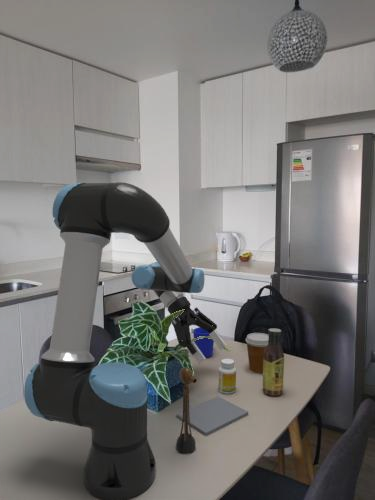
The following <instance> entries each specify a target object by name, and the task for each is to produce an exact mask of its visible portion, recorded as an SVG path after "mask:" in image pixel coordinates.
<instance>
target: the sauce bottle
mask: <svg viewBox="0 0 375 500" xmlns="http://www.w3.org/2000/svg"><path fill="white" fill-rule="evenodd" d="M267 331H268V332H267V334H268V335H269V339H268V345H267V346H266V348H265V350H264V361H263V373H262V392H263V393H264V394H265V395H268V396H271V397H278V396H280V395H282V394H283V389H284V375H285V371H284V370H285V355H284V354H285V353H284V351H283V347H282V330H281V329H280V328H276V327H275V328H273V327H272V328H268V329H267Z"/></svg>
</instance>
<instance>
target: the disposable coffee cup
mask: <svg viewBox="0 0 375 500" xmlns="http://www.w3.org/2000/svg"><path fill="white" fill-rule="evenodd" d="M268 339H269V334H268V333H264V332H263V333H262V332H252V333H249V334H247V335H246V338H245V342H246V347H247V349H246V350H247V357H248V365H249V370H250V372H253V373H256V374H263V361H264V350H265V348H266V346H267V345H268Z"/></svg>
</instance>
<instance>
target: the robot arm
mask: <svg viewBox="0 0 375 500" xmlns="http://www.w3.org/2000/svg"><path fill="white" fill-rule="evenodd" d="M51 213H52V218H54V220H53V223H54V224H55V226H56V228H58V229H59V230H60V231H59V236H60V238H61V239H62V241H63V242H64V244H65V245H64V251H63V259H62V265H61V269H60V270H61V271H60V278H59V285H58V290H57V296H56V297H57V299H56V306H55V312H54V317H53V325H52V331H51V336H50V337H51V339H50V343H49V344H50V345H49V348H48V349H47V350H46V351H45V352H44V353H43V354H41V357H40V362H38V363H36V364H35V365H34V366H33V367H32V368H31V369H30V370H29V371H30V373H28V374H27V376H26V379H25V382H24V387H23V393H24V394H23V396H24V403H25V405H26V407H27V409H28V410H29V411H30V413H31V414H32V415H34V416H35V417H38V418H40V419H44V420H46V421H49V422H59V423H63V424H69V425H73V426H77V427H83V428H88V429H91V430H90V431H91V446H90V447H89V448H90V449H89V452H88V455H87V457H86V462H85V465H84V469H83V483H84V486H85V488H86V490H87V492H88V493H90V495H92V496H94V497H95V498H98V499H101V500H129V499H132V498H135V497H136V496H138V495H141V494H143V493H144V492H145V491H147V490H148V489H149V488H150V487H151V486H152V484H153V482H154V481H155V478H156V476H157V475H156V474H157V473H156V472H157V471H156V469H157V466H156V464H157V463H156V460H155V456H154V452H153V450H152V447H151V445H150V442H149V439H148V397H149V396H148V390H147V389H148V387H147V378H146V376H145V374H143V371H142V370H140V369H139V368H138V367H136V366H135V365H133V364H129V363H125V362H122V361H121V362H120V361H119V362H118V361H114V362H103V363H99V364H97V365H96V366H95V357H94V356H93V355H92V353H90V346H91V340H92V339H91V338H92V334H93V333H92V332H93V331H92V330H93V324H94V318H95V317H94V316H95V310H96V309H95V308H96V301H97V296H98V295H97V294H98V287H99V279H100V273H101V272H100V270H101V265H102V264H101V263H102V258H103V257H102V256H103V250H104V248H105V247H106V246H108V245H109V244H110V243H111V238H112V237H111V236H112V234H114V233H115V234H117V233H120V234H121V233H124V234H128V235H132V236H133V237H134V238H135V239H136V240H137V241H138V242H140V243H143V244H144V245H145V246H146V248H147V249H148V250H149V252H150V253H151V255H152V256H153V258H154V259H155V261H154V262H151V263H149V264H148V265H147V264H142V265H138V266H136V267H135V268H134V269H133V271H132V273H131V282H132V284H133V286H134V287H136V288H137V289H140V290H143V291H144V290H147V291H153V293H155V294H156V297H158V299H159V300H160V302H161V303H162V304H163V306H164V307H165V308H167V312H168V313H169V314H170V315H171V314H172V313H174V312H176V311H179V310H182V309H185V310H184V312H183V313H182V314H181V315H179V316H178V317H177V318H175V319H174V320H173V321H172V323H171V324H172V326H173V329H174V332H175V336H176V338H177V341H178V345H179V347H180V346H183V347H182V348H183V349H185V348H187V349H188V351H189V352H190V354H191V355H192V356H193V357H194V359H195V360H196V361H197V363H198V364H199V365H200V364H202V363H203V362H204V361H205V360H206V359H207V357H206V358H205V357H204V355H203V354H202V352H201V351H200V350H199V348H198V347H197V345H196V344H195V343H194V340H193V341H192V338H191V337H192V336H191V329H190V326H197V328H199V327H200V328H202V329H203V330H205V331H207V332H209V333H210V334H209V335H210V337H213V338H214V339H212V340H213V341H214V344H215V345H216V347H217V348H218V349H219V351H222V350H223V349H224V348H226V347H227V346H228V345H227V344H226V342H225V341H224V340H223V339H222V337H221V335H220V334H219V333H218V331H217V329H218V325H217V324H216V323H215V322H214V321H213V320H211V319H210V317H208V316H207V315H205V314H204V313H203V312H201V310H200V309H199V307H195V308H194V309H193V310H192V309H191V302H190V301H189V300H188V298H187V297H186V296H185V295H184V293H187V294H200V293H201V292H203V289H204V286H205V273H204V270H202V269H200V268H196V267H195V268H192V266H191V264H190V262H189V260H188V259H187V257H186V255H185V253H184V252H183V249H182V248H181V245H179V242H178V240H177V239H176V237H175V235H174V233H173V232H172V229H171V227H170V226H171V225H170V224H171V221H170V217H169V216H168V214H167V212H166V211H165V209H164V208H163V206H162V205H161V204H160V202H158V201H157V199H155V198H154V197H153V196H152V195H151V194H150V193H148V192H146V191H145V190H144V189H142V188H140V187H138V186H136V185H134V184H131V183H127V182H118V181H117V182H79V183H71V184H68V185H66V186H64V187H63V188H61V189H60V190H59V191H58V193H57V194H56V195H55V199H54V201H53V204H52V212H51ZM220 343H221V344H222V345H223V346H224V348H223V347H222V345H221V344H220Z"/></svg>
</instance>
